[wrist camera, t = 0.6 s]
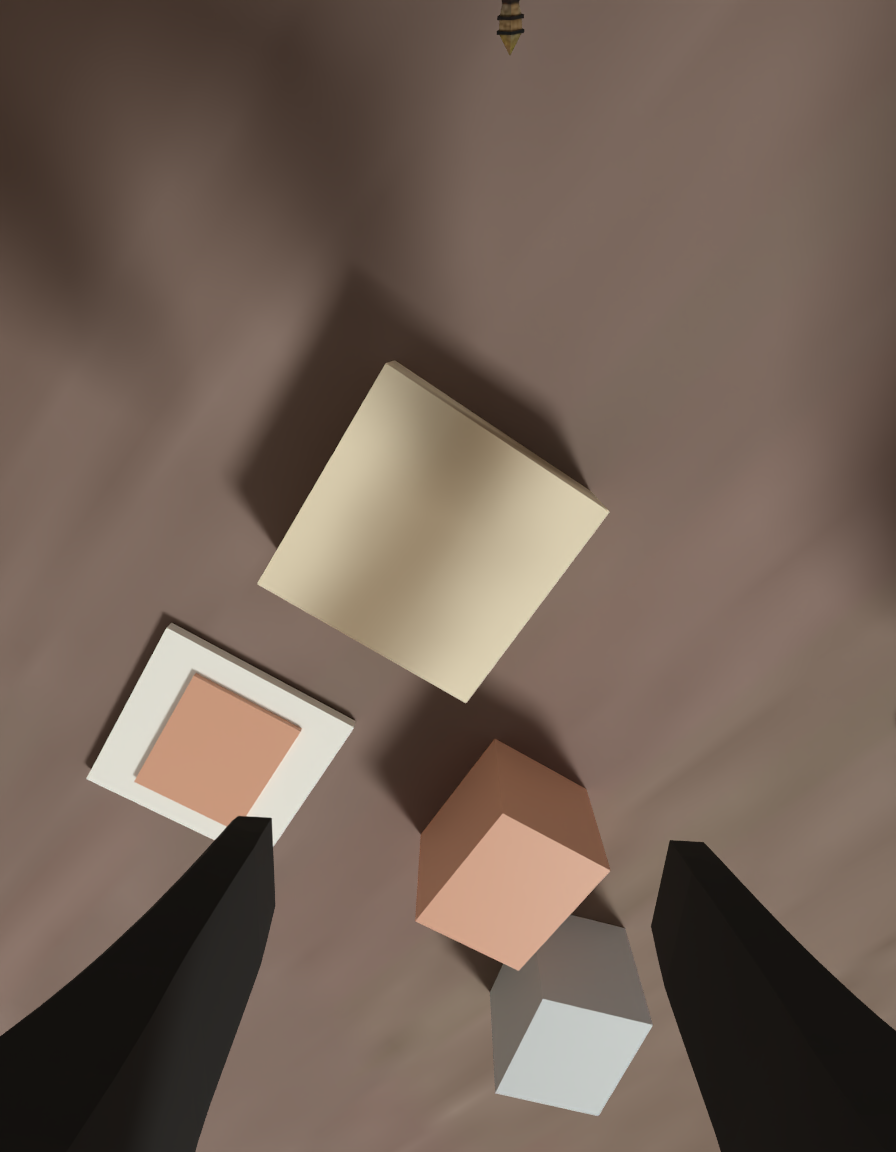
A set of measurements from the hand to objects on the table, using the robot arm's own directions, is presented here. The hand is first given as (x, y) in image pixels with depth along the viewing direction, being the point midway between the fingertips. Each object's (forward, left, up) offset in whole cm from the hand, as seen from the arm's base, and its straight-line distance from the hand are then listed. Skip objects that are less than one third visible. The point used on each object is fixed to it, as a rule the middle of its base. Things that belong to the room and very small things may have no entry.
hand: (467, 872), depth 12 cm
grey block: (-11, +10, -11) cm, 19 cm away
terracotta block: (-5, +5, -11) cm, 13 cm away
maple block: (+3, -3, -11) cm, 11 cm away
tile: (+5, +8, -10) cm, 14 cm away
